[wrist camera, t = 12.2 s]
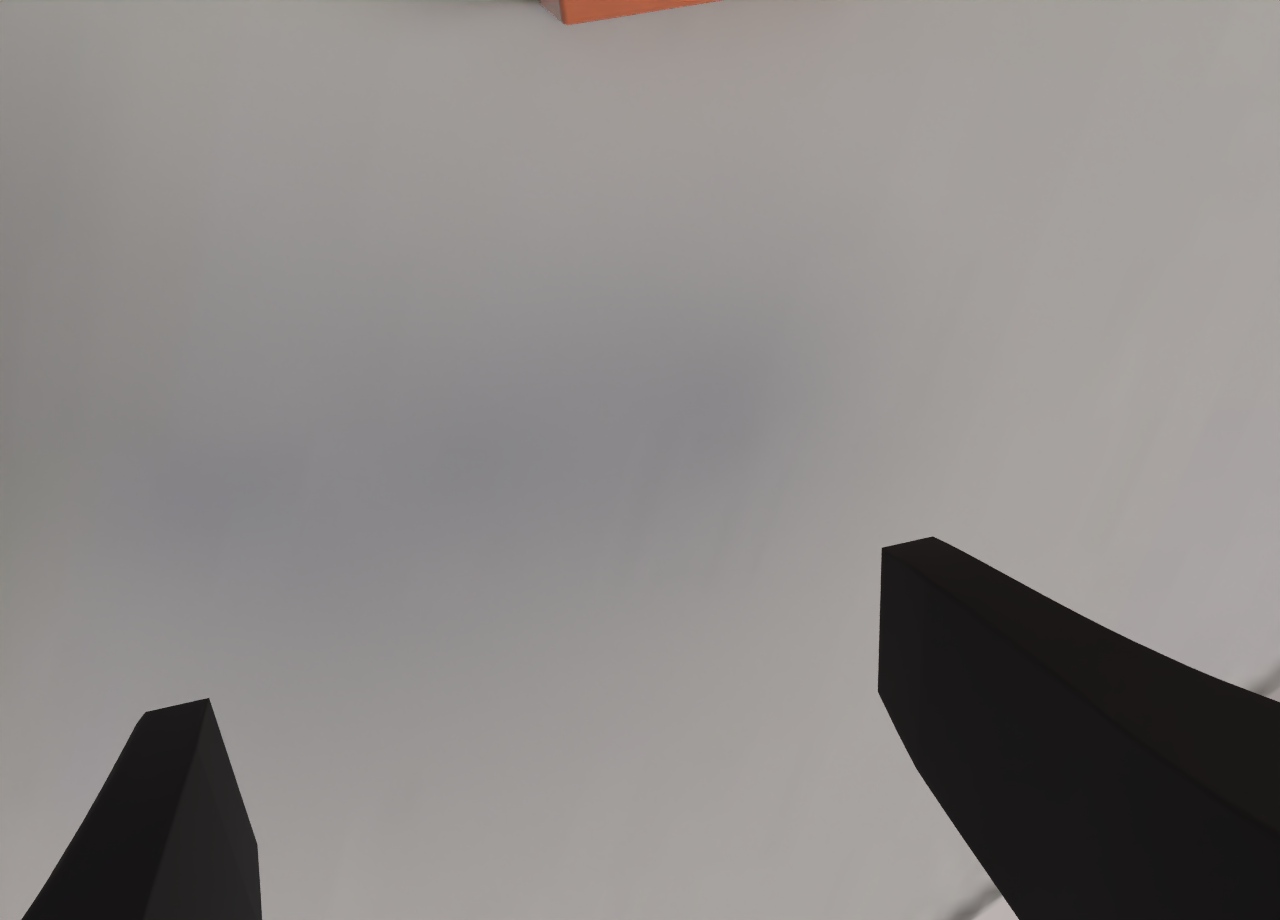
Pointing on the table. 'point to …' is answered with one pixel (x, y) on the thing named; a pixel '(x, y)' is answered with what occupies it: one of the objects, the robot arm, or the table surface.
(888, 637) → the robot arm
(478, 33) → the table surface
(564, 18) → the terracotta coaster
